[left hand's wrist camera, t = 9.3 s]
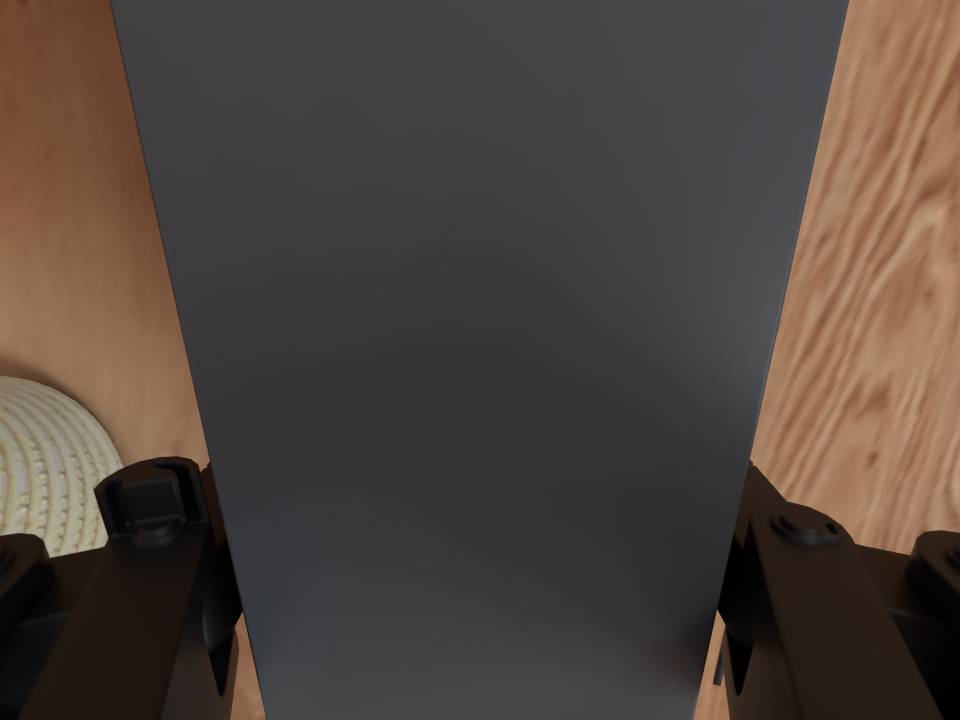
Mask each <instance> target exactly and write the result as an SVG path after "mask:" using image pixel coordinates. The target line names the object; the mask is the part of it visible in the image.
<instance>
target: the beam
mask: <svg viewBox="0 0 960 720" xmlns="http://www.w3.org/2000/svg"><path fill="white" fill-rule="evenodd" d="M109 1H110V5H111V10H112V14H113V19H114V24H115V28H116V33H117V37H118V42H119V46H120V51H121V56H122V60H123V65H124V69H125V74H126V79H127V83H128V88H129V92H130V97H131V101H132V106H133V111H134V115H135V120H136V124H137V129H138V133H139V138H140V143H141V147H142V152H143V156H144V161H145V165H146V170H147V175H148V179H149V184H150V188H151V193H152V198H153V202H154V207H155V211H156V216H157V220H158V225H159V230H160V234H161V239H162V243H163V248H164V252H165V257H166V262H167V266H168V271H169V275H170V280H171V284H172V289H173V294H174V298H175V303H176V307H177V312H178V317H179V321H180V326H181V330H182V335H183V339H184V344H185V349H186V353H187V358H188V362H189V367H190V371H191V376H192V381H193V385H194V390H195V394H196V399H197V403H198V408H199V413H200V417H201V422H202V426H203V431H204V436H205V440H206V445H207V449H208V454H209V458H210V463H211V468H212V472H213V477H214V481H215V486H216V490H217V495H218V500H219V504H220V509H221V513H222V518H223V523H224V527H225V532H226V536H227V541H228V545H229V550H230V555H231V559H232V564H233V568H234V573H235V577H236V582H237V587H238V591H239V596H240V600H241V605H242V609H243V614H244V619H245V623H246V628H247V632H248V637H249V642H250V646H251V651H252V655H253V660H254V664H255V669H256V674H257V678H258V683H259V687H260V692H261V696H262V701H263V706H264V710H265V715H266V719H267V720H693V718H694V713H695V708H696V704H697V699H698V695H699V690H700V685H701V681H702V676H703V672H704V667H705V662H706V658H707V653H708V648H709V644H710V639H711V635H712V630H713V625H714V621H715V616H716V612H717V607H718V602H719V598H720V593H721V589H722V584H723V579H724V575H725V570H726V566H727V561H728V556H729V552H730V547H731V543H732V538H733V533H734V529H735V524H736V519H737V515H738V510H739V506H740V501H741V496H742V492H743V487H744V483H745V478H746V473H747V469H748V464H749V460H750V455H751V450H752V446H753V441H754V437H755V432H756V427H757V423H758V418H759V413H760V409H761V404H762V400H763V395H764V390H765V386H766V381H767V377H768V372H769V367H770V363H771V358H772V354H773V349H774V344H775V340H776V335H777V331H778V326H779V321H780V317H781V312H782V308H783V303H784V298H785V294H786V289H787V284H788V280H789V275H790V271H791V266H792V261H793V257H794V252H795V248H796V243H797V238H798V234H799V229H800V225H801V220H802V215H803V211H804V206H805V202H806V197H807V192H808V188H809V183H810V178H811V174H812V169H813V165H814V160H815V155H816V151H817V146H818V142H819V137H820V132H821V128H822V123H823V119H824V114H825V109H826V105H827V100H828V96H829V91H830V86H831V82H832V77H833V72H834V68H835V63H836V59H837V54H838V49H839V45H840V40H841V36H842V31H843V26H844V22H845V17H846V13H847V8H848V3H849V0H109Z"/></svg>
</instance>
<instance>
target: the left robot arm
mask: <svg viewBox="0 0 960 720" xmlns="http://www.w3.org/2000/svg"><path fill="white" fill-rule="evenodd" d="M93 491H94V494H95V497H96V501H97V504H98V507H99V510H100V513H101V516H102V520H103V523H104V526H105V529H106V532H107V535H108V540H107V542H106V544H105V546H104V547H100V548H96V549H91V550H86V551H81V552H76V553H72V554H67V555H62V556H57V557H52V558H50V556H49V554H48V551H47V548H46V545H45V543H44V540H42V539H41V538H39V537H38V536H37V535H35V534H26V533H15V534H8V535H1V536H0V720H230V717H231V709H232V701H233V693H234V686H235V678H236V670H237V662H238V654H239V645H238V638H237V634H236V629H235V625H236V623H237V621H238V619H239V617H240V615H241V614H242V612H243V609H242V605H241V600H240V596H239V591H238V587H237V582H236V577H235V573H234V568H233V564H232V559H231V555H230V550H229V545H228V541H227V536H226V532H225V527H224V523H223V518H222V513H221V509H220V504H219V500H218V495H217V490H216V486H215V481H214V477H213V472H212V468H211V463H210V462H209V463H208V465H207V468H204V469H203V470H202V471H201V473H200V470H199V465H198V464H197V463H195V462H194V461H193V460H191V459H188V458H183V457H178V456H173V457H158V458H153V459H149V460H144V461H140V462H137V463H134V464H132V465H129V466H127V467H124V468H121V469H119V470H117V471H116V472H114V473H112V474H111V475H109V476H107V477H106V478H104V479H103V480H102V481H101V482H100V483H99V484H98V485H97V486H96V487H95V488H94V489H93ZM717 610H718V611H719V613H720V615H721V617H722V619H723V621H724V623H725V629H724V634H723V638H722V642H721V647H720V651H719V656H718V660H717V665H716V669H715V674H714V681H713V684H715V685H719V686H721V682H722V678H723V674H724V676H725V684H726V692H727V700H728V708H729V715H730V720H960V533H956V532H950V531H943V530H939V531H929V532H924V533H923V534H922V535H920V536H919V537H917V539H916V541H915V544H914V547H913V549H912V552H911V555H906V554H901V553H896V552H891V551H886V550H881V549H876V548H871V547H866V546H862V545H858V544H855V543H854V541H853V539H852V537H851V536H850V535H849V534H848V532H847V531H846V530H845V529H844V527H843V526H842V525H840V524H839V523H837V522H836V521H835V520H833V519H832V518H830V517H829V516H827V515H826V514H823V513H821V512H819V511H817V510H814V509H812V508H810V507H807V506H803V505H799V504H795V503H791V502H787V501H786V500H785V499H784V498H783V497H782V496H781V494H780V493H779V492H778V491H777V490H776V489H775V488H774V486H773V485H772V484H771V483H770V482H769V481H768V480H767V478H766V477H765V476H764V475H763V474H762V473H761V472H760V471H759V469H758V468H757V467H756V466H753V463H752V461H751V460H749V464H748V469H747V473H746V478H745V483H744V487H743V492H742V496H741V501H740V506H739V510H738V515H737V519H736V524H735V529H734V533H733V538H732V543H731V547H730V552H729V556H728V561H727V566H726V570H725V575H724V579H723V584H722V589H721V593H720V598H719V602H718V607H717Z"/></svg>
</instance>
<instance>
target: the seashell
mask: <svg viewBox="0 0 960 720" xmlns="http://www.w3.org/2000/svg"><path fill="white" fill-rule="evenodd" d="M121 468H124V465H123V463H122V461H121V459H120V456H119V454H118V452H117V449H116V447H115V445H114V444H113V442H112V440H111V438H110V437H109V435H108V434H107V432H106V431H105V430H104V429H103V428H102V426H101V425H100V424H99V422H98V421H97V420H96V419H95V418H94V417H93V416H92V415H91V414H90V413H89V412H88V411H87V410H86V409H85V408H83V407H82V406H81V405H80V404H78V403H77V402H76V401H74V400H72V399H71V398H69V397H68V396H66V395H64V394H63V393H61V392H59V391H57V390H55V389H53V388H51V387H48V386H45V385H42V384H40V383H38V382H35V381H30V380H26V379H21V378H16V377H9V376H0V536H1V535H8V534H15V533H26V534H35V535H37V536H38V537H39V538H41V539H42V540H44V543H45V545H46V548H47V551H48V554H49V556H50V558H52V557H57V556H62V555H67V554H72V553H76V552H81V551H86V550H91V549H96V548H100V547H104V546H105V544H106V542H107V540H108V535H107V532H106V529H105V526H104V523H103V520H102V516H101V513H100V510H99V507H98V504H97V501H96V497H95V494H94V491H93V489H94V488H95V487H96V486H97V485H98V484H99V483H100V482H101V481H102V480H103V479H104V478H106V477H107V476H109V475H111V474H112V473H114V472H116V471H117V470H119V469H121Z"/></svg>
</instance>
